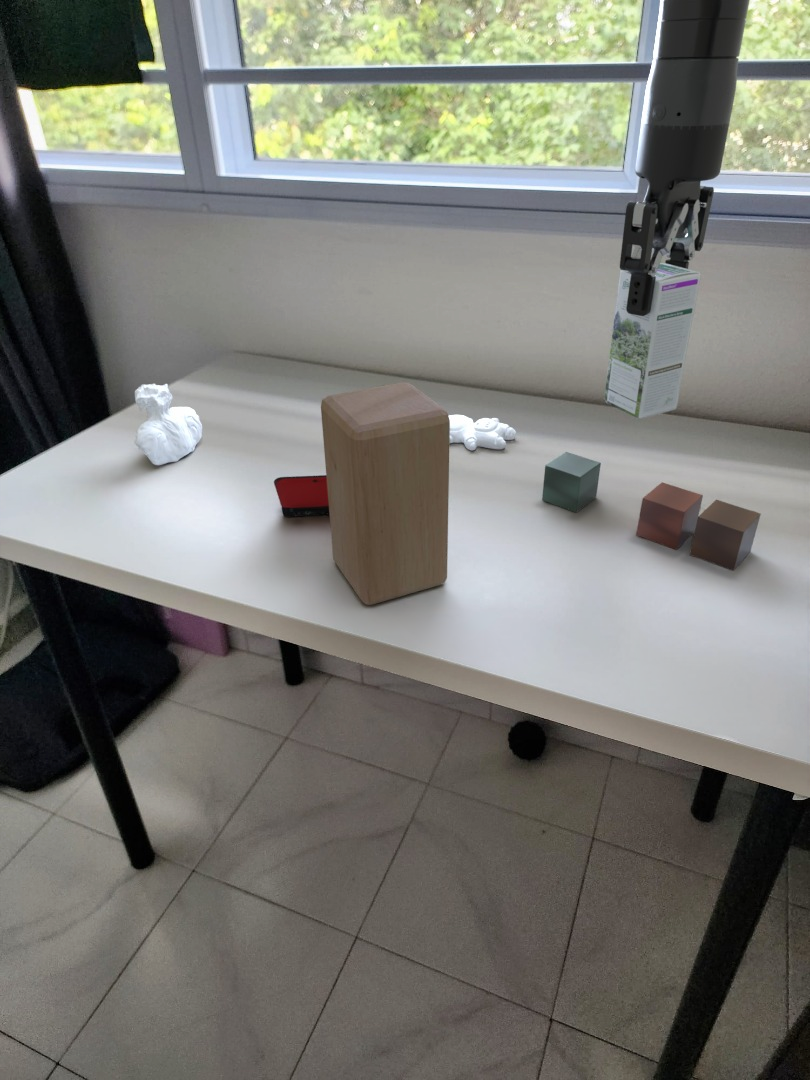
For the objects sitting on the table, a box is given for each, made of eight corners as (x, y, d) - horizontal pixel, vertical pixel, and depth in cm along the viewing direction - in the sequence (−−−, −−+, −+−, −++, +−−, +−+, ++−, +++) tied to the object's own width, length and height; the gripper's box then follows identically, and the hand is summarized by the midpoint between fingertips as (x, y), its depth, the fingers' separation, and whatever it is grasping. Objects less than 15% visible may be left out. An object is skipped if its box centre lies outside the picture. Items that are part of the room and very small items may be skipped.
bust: (198, 450, 115) (151, 388, 112) (225, 428, 110) (177, 363, 108) (144, 484, 106) (92, 417, 103) (171, 462, 101) (117, 392, 99)
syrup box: (678, 409, 81) (705, 270, 73) (636, 420, 78) (660, 277, 70) (640, 392, 85) (662, 259, 77) (600, 402, 83) (618, 266, 75)
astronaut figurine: (495, 457, 106) (496, 438, 104) (423, 439, 111) (423, 420, 110) (522, 435, 112) (523, 416, 110) (452, 418, 118) (452, 400, 116)
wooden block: (330, 561, 84) (316, 393, 74) (410, 540, 88) (408, 377, 77) (364, 611, 77) (353, 431, 66) (450, 585, 80) (454, 411, 69)
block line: (750, 551, 85) (761, 513, 82) (733, 570, 82) (743, 532, 79) (562, 485, 98) (566, 451, 96) (541, 500, 95) (544, 465, 93)
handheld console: (382, 486, 99) (380, 434, 95) (383, 529, 90) (381, 474, 86) (288, 489, 99) (282, 437, 95) (279, 532, 90) (272, 477, 86)
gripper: (692, 125, 60) (658, 330, 69) (757, 115, 69) (719, 297, 78) (608, 122, 64) (586, 315, 73) (679, 113, 73) (652, 285, 82)
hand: (654, 305), depth 76 cm, fingers closed on syrup box, 7 cm apart
